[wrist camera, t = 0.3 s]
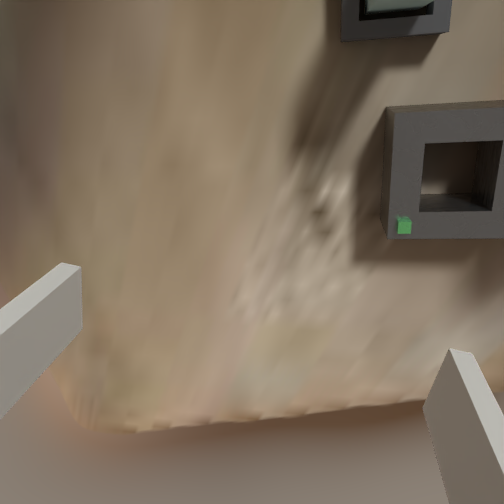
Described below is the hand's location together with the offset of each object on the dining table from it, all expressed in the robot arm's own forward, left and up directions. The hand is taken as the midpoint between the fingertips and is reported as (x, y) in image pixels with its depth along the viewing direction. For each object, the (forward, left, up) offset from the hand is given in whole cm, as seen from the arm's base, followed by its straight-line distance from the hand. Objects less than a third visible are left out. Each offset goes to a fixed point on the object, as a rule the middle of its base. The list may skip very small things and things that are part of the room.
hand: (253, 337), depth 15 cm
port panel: (0, +13, -27) cm, 29 cm away
